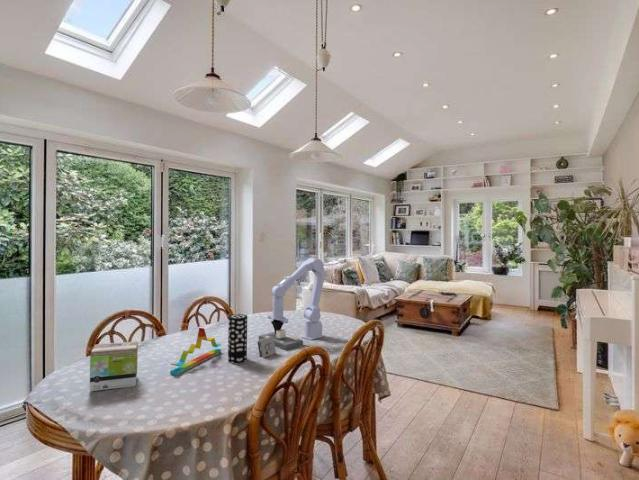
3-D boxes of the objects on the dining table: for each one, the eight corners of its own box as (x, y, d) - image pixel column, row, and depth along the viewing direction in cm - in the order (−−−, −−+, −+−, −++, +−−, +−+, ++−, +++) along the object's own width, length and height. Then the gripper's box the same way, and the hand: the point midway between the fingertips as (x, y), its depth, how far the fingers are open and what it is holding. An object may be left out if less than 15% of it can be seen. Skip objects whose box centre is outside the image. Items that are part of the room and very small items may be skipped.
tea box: (89, 393, 131) (89, 352, 131) (93, 382, 140) (93, 343, 140) (136, 386, 137) (136, 347, 137) (137, 376, 146) (138, 339, 146)
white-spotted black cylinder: (250, 358, 169) (250, 315, 169) (240, 364, 162) (241, 319, 161) (234, 356, 172) (235, 313, 172) (224, 362, 164) (224, 317, 164)
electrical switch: (263, 358, 170) (262, 340, 170) (256, 357, 173) (255, 339, 173) (276, 353, 177) (275, 336, 177) (269, 352, 180) (268, 335, 180)
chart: (176, 376, 148) (177, 339, 148) (170, 375, 149) (170, 338, 149) (221, 353, 177) (221, 322, 176) (215, 352, 178) (216, 321, 177)
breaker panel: (276, 336, 206) (276, 331, 206) (303, 345, 190) (303, 340, 190) (258, 340, 197) (258, 335, 197) (285, 350, 182) (285, 345, 182)
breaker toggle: (281, 335, 196) (282, 328, 196) (285, 337, 194) (285, 330, 194) (276, 337, 193) (276, 330, 193) (279, 338, 191) (279, 331, 191)
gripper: (263, 307, 197) (263, 332, 198) (280, 312, 187) (280, 338, 188) (273, 305, 202) (273, 330, 203) (291, 310, 192) (290, 335, 193)
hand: (277, 334), depth 196 cm, fingers closed
